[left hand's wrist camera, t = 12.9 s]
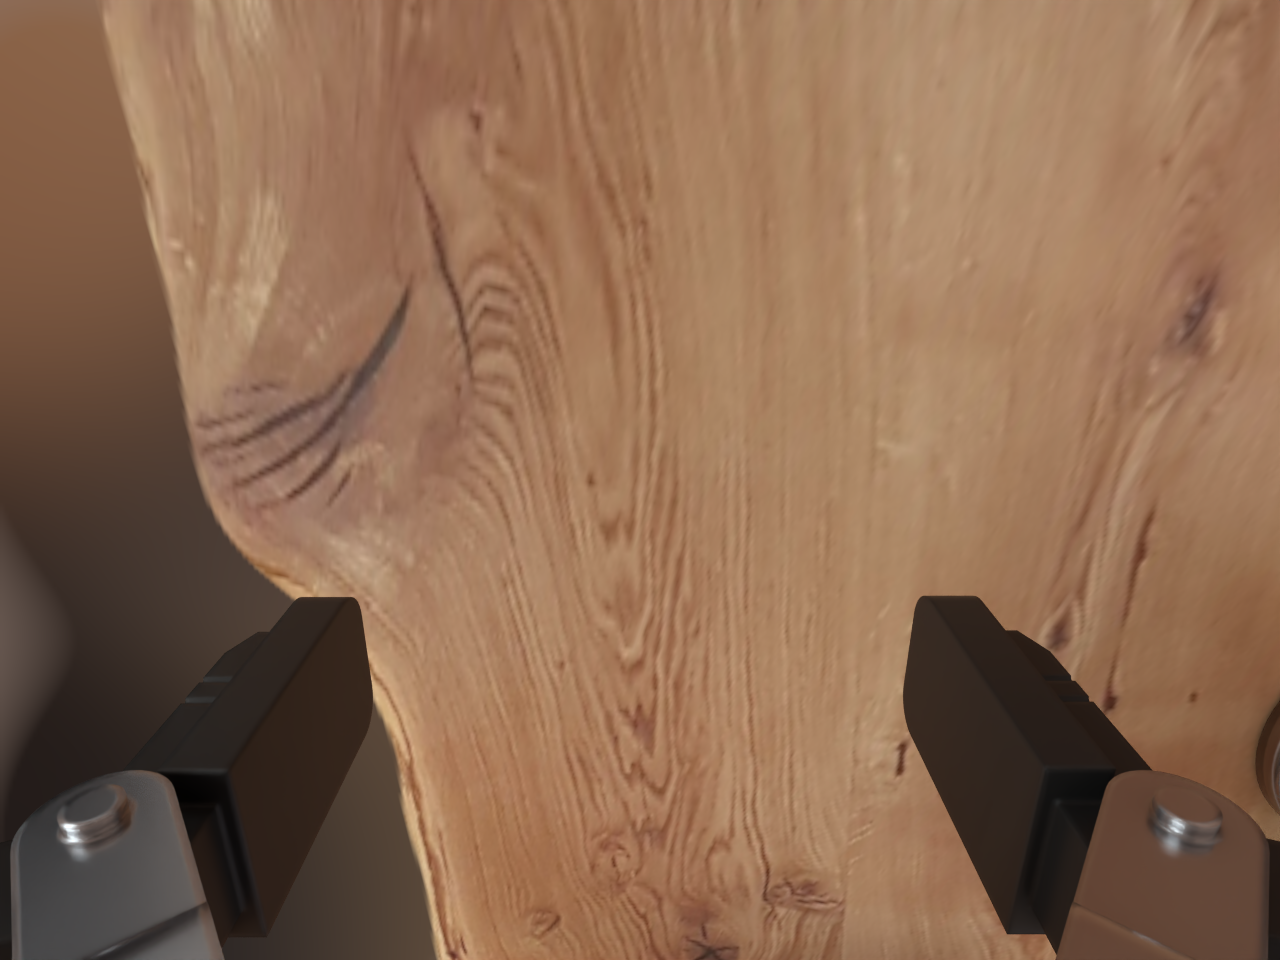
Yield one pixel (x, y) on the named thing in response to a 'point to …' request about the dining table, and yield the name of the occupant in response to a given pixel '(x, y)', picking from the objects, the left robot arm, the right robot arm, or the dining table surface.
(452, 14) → the dining table surface
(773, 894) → the dining table surface
